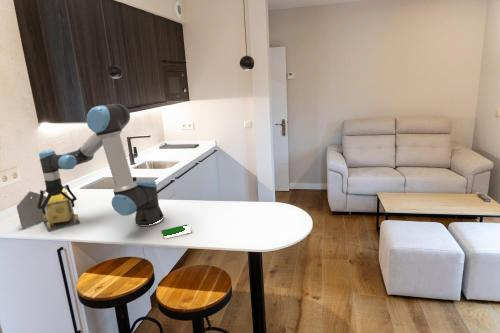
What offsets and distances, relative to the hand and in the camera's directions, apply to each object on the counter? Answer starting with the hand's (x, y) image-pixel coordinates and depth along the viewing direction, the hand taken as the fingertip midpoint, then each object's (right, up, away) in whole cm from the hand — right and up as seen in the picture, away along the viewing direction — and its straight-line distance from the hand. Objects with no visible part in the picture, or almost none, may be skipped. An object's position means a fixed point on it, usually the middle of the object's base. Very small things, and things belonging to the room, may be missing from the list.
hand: (60, 216), depth 189 cm
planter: (-17, -5, +4) cm, 18 cm away
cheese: (0, -2, +1) cm, 2 cm away
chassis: (0, -4, +1) cm, 4 cm away
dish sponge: (+69, -6, -19) cm, 72 cm away
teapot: (-16, +2, +29) cm, 33 cm away
